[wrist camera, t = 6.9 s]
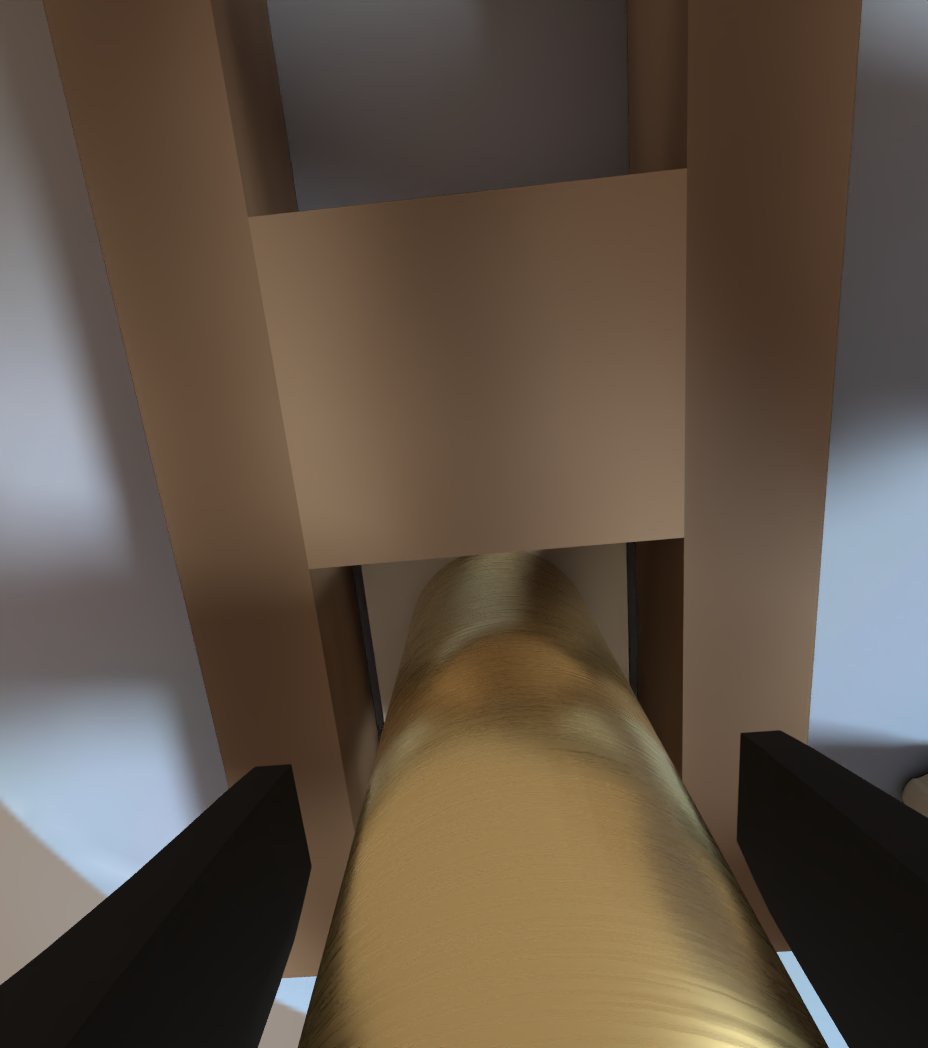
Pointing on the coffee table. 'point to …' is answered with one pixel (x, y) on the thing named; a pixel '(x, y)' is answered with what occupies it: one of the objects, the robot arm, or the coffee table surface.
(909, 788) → the handle
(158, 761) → the coffee table surface
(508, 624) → the peg
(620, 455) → the mount block
